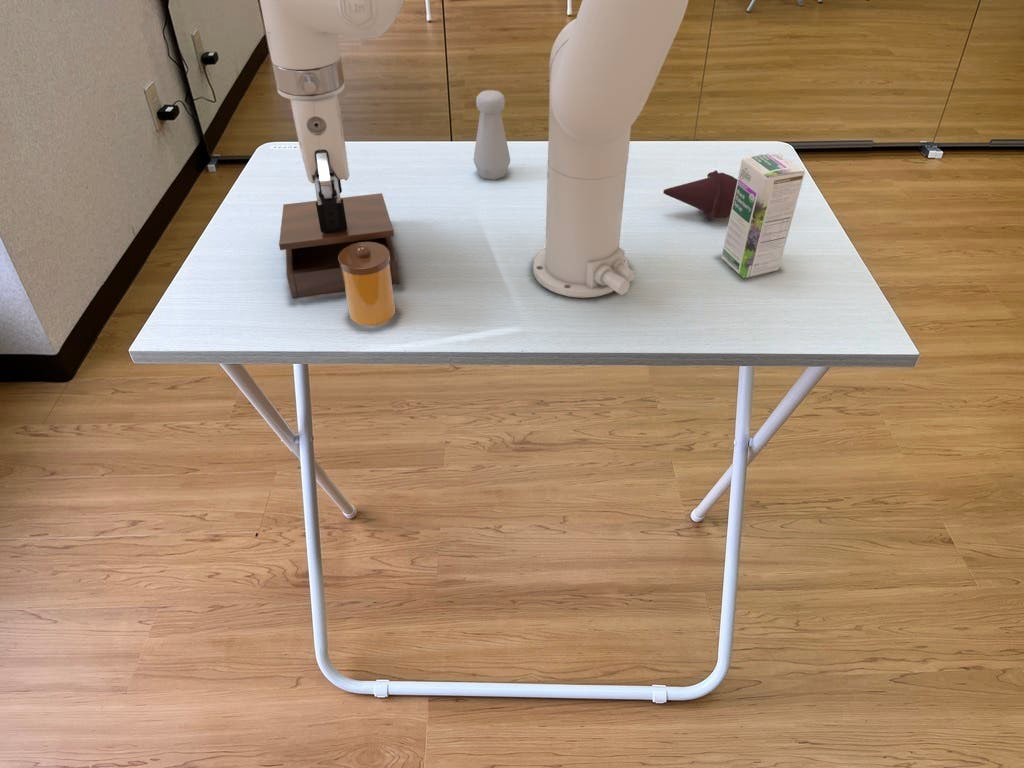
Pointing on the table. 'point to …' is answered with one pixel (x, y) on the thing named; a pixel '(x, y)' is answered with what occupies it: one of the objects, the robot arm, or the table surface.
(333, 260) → the chest
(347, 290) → the honey pot
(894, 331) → the table surface
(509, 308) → the table surface
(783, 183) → the syrup box
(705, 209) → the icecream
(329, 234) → the chest lid
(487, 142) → the salt shaker
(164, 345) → the table surface
